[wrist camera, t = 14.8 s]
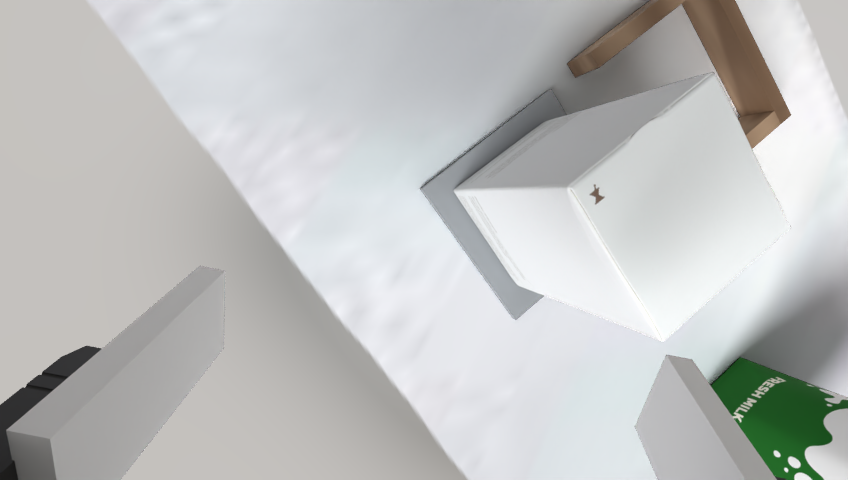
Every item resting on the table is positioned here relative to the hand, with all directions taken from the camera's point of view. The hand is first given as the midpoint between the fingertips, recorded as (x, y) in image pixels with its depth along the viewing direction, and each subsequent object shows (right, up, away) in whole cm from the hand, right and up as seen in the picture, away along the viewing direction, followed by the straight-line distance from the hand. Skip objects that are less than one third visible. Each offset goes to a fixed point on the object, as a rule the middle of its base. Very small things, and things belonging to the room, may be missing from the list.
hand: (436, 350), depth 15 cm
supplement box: (+7, +6, +22) cm, 24 cm away
